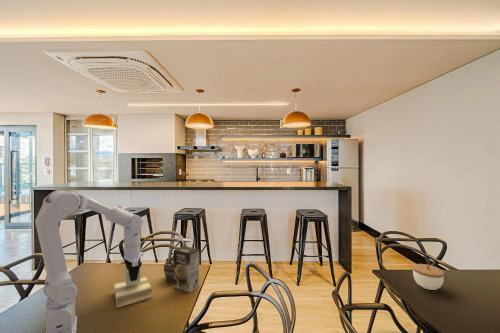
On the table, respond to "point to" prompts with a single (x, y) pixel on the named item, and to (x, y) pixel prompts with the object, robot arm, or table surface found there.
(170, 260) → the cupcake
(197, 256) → the coffee box
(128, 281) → the sage cube
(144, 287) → the birch block
